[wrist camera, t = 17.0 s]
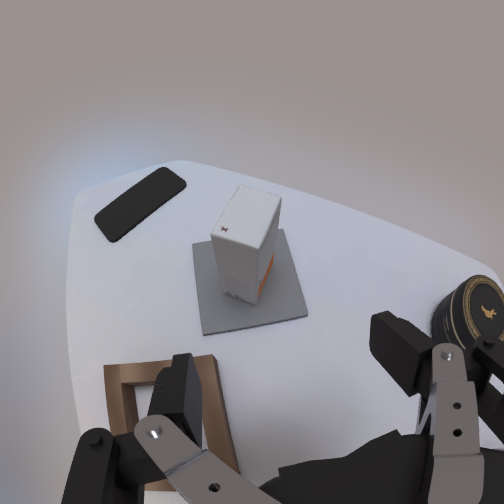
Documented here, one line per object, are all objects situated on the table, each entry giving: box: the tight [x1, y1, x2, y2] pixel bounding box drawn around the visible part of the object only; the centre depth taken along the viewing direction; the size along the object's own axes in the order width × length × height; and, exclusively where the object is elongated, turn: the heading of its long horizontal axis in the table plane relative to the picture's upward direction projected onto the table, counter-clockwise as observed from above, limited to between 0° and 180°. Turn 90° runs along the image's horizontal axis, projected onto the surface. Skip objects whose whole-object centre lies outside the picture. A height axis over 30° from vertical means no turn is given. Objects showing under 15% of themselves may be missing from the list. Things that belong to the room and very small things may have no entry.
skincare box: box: [211, 185, 282, 305], centre depth 28 cm, size 6×4×12 cm
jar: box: [432, 275, 504, 350], centre depth 26 cm, size 10×10×8 cm
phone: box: [94, 167, 186, 242], centre depth 40 cm, size 7×1×15 cm
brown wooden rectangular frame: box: [104, 354, 240, 491], centre depth 23 cm, size 12×14×4 cm
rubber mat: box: [192, 229, 308, 335], centre depth 33 cm, size 12×12×1 cm
